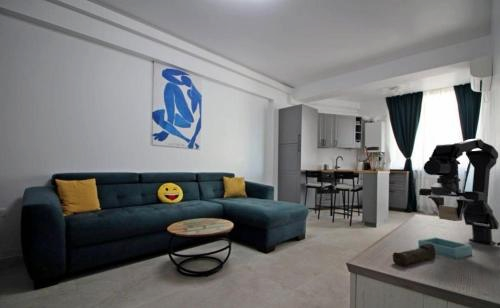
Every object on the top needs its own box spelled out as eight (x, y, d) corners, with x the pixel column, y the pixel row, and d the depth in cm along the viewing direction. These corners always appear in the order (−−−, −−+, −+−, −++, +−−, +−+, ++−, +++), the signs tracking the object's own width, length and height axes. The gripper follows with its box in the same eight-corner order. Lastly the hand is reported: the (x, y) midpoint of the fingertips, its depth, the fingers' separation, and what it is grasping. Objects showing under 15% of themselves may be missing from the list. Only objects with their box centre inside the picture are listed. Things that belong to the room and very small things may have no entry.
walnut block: (446, 217, 90) (445, 205, 90) (462, 220, 85) (461, 206, 86) (439, 218, 88) (438, 205, 88) (455, 221, 83) (454, 207, 84)
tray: (435, 244, 88) (434, 237, 88) (472, 254, 78) (471, 245, 79) (418, 248, 84) (418, 240, 84) (455, 259, 74) (455, 249, 74)
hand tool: (405, 269, 66) (404, 252, 66) (392, 263, 70) (391, 248, 70) (444, 260, 73) (444, 246, 73) (430, 256, 77) (430, 242, 77)
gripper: (410, 174, 93) (411, 213, 92) (469, 175, 76) (471, 223, 75) (426, 175, 98) (427, 212, 96) (485, 176, 81) (487, 221, 79)
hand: (450, 216), depth 87 cm, fingers closed on walnut block, 5 cm apart
